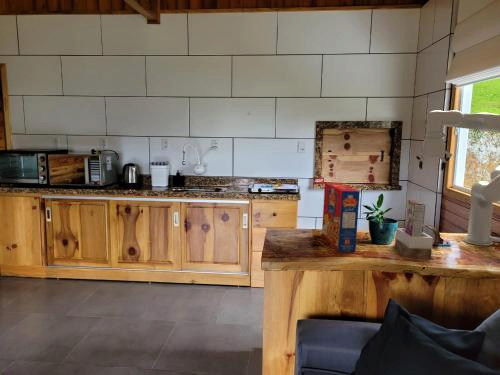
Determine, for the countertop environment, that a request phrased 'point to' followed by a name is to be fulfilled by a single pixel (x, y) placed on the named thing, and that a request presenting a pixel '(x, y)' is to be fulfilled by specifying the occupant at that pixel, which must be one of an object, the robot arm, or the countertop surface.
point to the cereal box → (340, 216)
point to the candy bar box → (415, 218)
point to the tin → (432, 233)
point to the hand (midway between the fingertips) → (431, 169)
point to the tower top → (414, 239)
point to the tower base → (412, 251)
